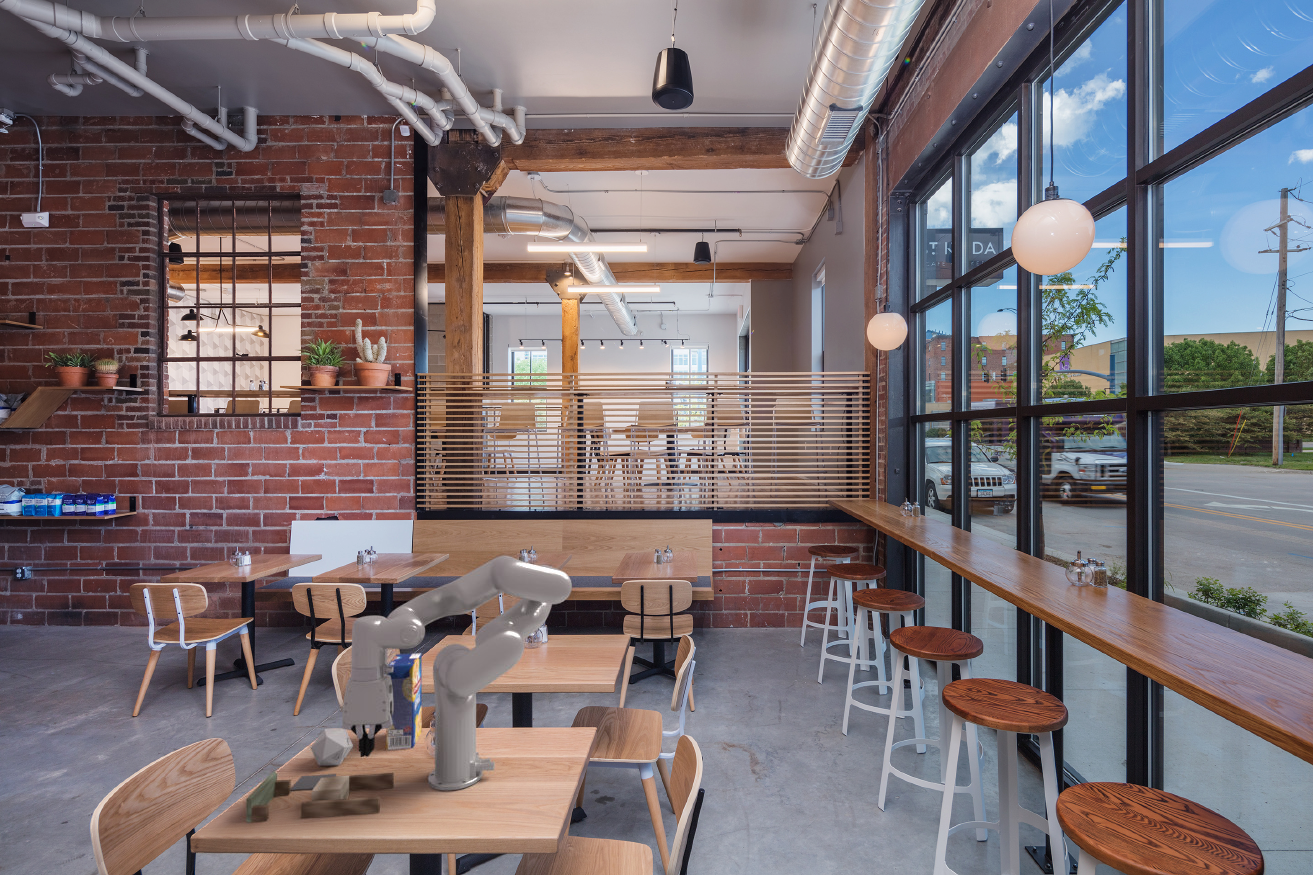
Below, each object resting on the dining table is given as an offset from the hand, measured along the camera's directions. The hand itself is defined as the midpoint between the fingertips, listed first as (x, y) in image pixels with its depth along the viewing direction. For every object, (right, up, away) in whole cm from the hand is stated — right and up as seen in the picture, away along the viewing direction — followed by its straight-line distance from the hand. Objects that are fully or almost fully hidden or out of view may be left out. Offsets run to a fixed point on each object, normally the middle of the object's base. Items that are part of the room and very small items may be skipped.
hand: (366, 753), depth 148 cm
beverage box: (-3, -12, +31) cm, 33 cm away
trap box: (-9, -10, -1) cm, 14 cm away
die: (-17, -11, +19) cm, 28 cm away
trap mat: (-16, -11, +8) cm, 21 cm away
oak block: (-8, -11, -1) cm, 13 cm away
